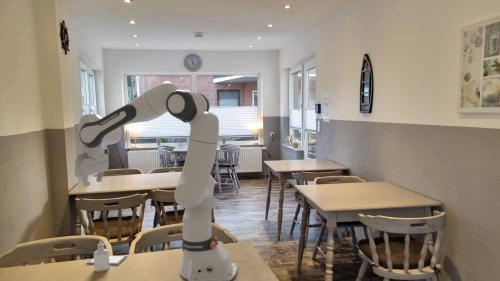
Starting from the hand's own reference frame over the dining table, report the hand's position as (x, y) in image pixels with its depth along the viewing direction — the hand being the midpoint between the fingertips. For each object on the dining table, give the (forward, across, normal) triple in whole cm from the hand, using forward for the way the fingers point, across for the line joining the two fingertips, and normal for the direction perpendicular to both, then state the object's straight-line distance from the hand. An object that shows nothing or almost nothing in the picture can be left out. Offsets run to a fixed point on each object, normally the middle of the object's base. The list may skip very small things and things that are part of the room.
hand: (93, 183), depth 147 cm
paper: (+33, -2, -6) cm, 34 cm away
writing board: (+33, -2, -6) cm, 34 cm away
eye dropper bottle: (+33, -10, -8) cm, 36 cm away
